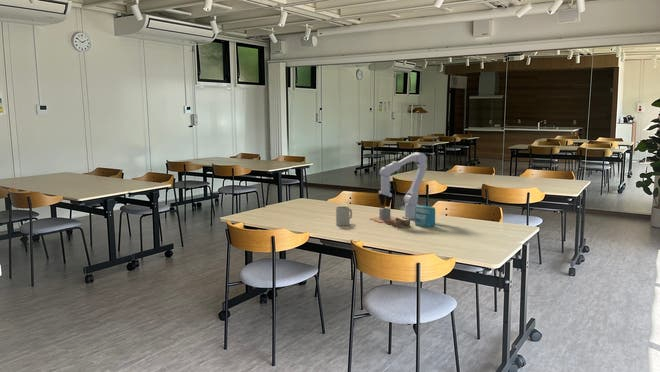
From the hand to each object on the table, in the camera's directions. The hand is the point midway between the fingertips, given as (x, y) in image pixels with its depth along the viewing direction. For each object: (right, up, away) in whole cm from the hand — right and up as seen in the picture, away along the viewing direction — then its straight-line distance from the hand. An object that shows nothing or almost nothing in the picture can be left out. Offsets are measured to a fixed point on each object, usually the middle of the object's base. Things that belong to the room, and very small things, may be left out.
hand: (385, 205), depth 341 cm
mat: (0, -9, +1) cm, 9 cm away
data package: (+23, -12, -17) cm, 31 cm away
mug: (-27, -11, -9) cm, 31 cm away
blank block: (0, -9, +1) cm, 9 cm away
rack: (+6, -11, -12) cm, 18 cm away
